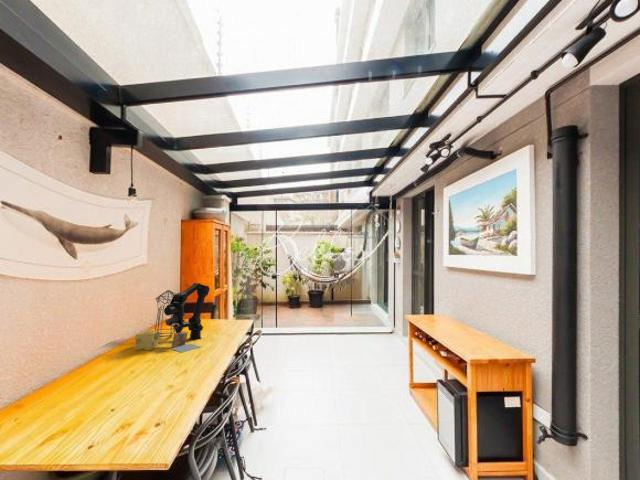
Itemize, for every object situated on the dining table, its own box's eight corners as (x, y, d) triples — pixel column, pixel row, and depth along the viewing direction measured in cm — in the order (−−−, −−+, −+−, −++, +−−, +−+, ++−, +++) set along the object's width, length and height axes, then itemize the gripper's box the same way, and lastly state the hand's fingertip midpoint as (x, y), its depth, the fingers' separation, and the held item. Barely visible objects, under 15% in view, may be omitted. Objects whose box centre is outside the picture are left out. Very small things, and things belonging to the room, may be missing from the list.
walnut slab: (182, 342, 211) (185, 330, 210) (185, 344, 209) (187, 332, 208) (171, 345, 204) (174, 333, 203) (174, 347, 203) (176, 335, 202)
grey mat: (189, 343, 211) (189, 343, 211) (200, 347, 205) (200, 346, 205) (170, 349, 200) (170, 348, 200) (181, 352, 193) (181, 352, 193)
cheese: (150, 350, 197) (150, 334, 197) (133, 349, 197) (134, 334, 198) (159, 345, 207) (159, 330, 208) (143, 345, 208) (143, 330, 208)
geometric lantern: (156, 335, 231) (159, 288, 233) (178, 334, 236) (181, 288, 238) (151, 341, 216) (154, 291, 218) (175, 340, 221) (178, 291, 223)
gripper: (159, 312, 206) (158, 336, 206) (175, 316, 196) (174, 341, 196) (175, 310, 216) (174, 332, 215) (191, 313, 205) (190, 337, 205)
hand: (178, 335), depth 207 cm, fingers closed
